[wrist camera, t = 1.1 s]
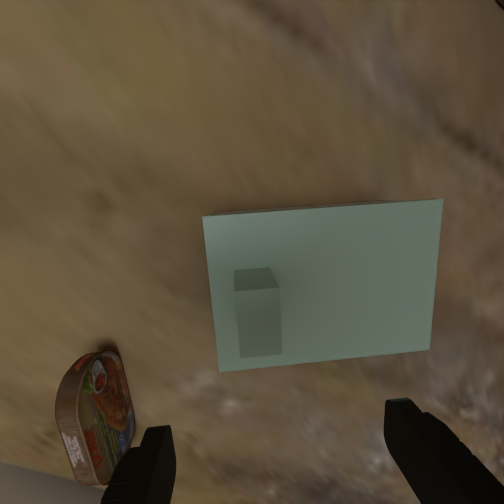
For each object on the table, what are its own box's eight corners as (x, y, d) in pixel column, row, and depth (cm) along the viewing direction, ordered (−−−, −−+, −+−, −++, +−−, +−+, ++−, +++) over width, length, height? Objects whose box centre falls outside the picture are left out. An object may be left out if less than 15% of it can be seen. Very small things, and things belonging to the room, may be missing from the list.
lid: (421, 198, 24) (505, 199, 16) (411, 335, 27) (477, 387, 20) (205, 214, 23) (192, 222, 15) (220, 355, 26) (215, 418, 18)
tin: (139, 433, 35) (110, 506, 27) (116, 437, 35) (79, 511, 26) (116, 336, 32) (75, 385, 23) (91, 339, 31) (40, 389, 23)
